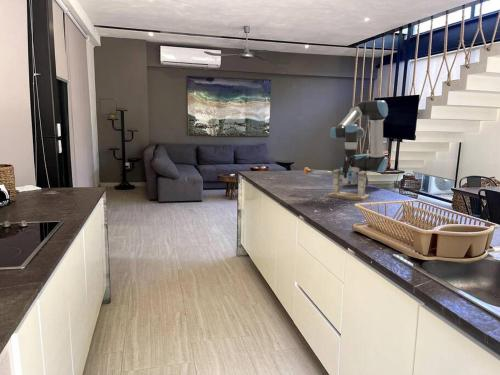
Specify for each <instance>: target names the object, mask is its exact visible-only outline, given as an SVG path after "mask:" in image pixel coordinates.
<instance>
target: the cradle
mask: <svg viewBox="0 0 500 375" xmlns="http://www.w3.org/2000/svg"><path fill="white" fill-rule="evenodd" d="M333 171H334V172H333V175H332V181H333V182H332V192H329V193H327V195H326V196H327V198H336V199H344V200H350V201H351V200H352V201H361V202H364V201H366V200H367V199H369V198H371V196H370V195H371V194H366V185H365V184H366V171H360V172H359V176H358V185H357V193H354V192H347V191H346V192H345V191H341V183H340V169H339V168H338V169H337V168H336V169H333Z"/></svg>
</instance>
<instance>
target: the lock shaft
mask: <svg viewBox="0 0 500 375" xmlns="http://www.w3.org/2000/svg"><path fill="white" fill-rule="evenodd" d="M302 172H303V175H309V174H320V175H327V176H328V175H330V176H333V172H334V170H332V171H331V170H324V169H323V170H320V169H310V168H309V166H308V167H307V166H304V168H303V170H302Z"/></svg>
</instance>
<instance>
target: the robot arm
mask: <svg viewBox="0 0 500 375" xmlns="http://www.w3.org/2000/svg"><path fill="white" fill-rule="evenodd" d="M348 112H349V113H347V115H346V116H345V117H344V118H343V119H342V120H341V121H340V123H339V124H338V125H337V126H334V127H333V126H332V127H331V128H330V130H329V136H330V137H331V138H333V139H344V143H343V145H344V155H345V156H346V157H344V162H343V171H342V173H344V179H343V183H348V170H349V167H357V168H359V172H360V171H366V184H365V186H366V185H367V186H368V185H369V179H368V174H367V173H368V172H372V173H384V172H385V171H386V169H387V167H388V163H389V159H388V157H387V156H386V154H385V152H384V121H385V119H386V117H387V116H388V115H389V113H388V112H389V107H388V104H387V102H386V101H385V100H380V99H379V100H375V99H374V100H363V101H360V102H358V103H356V104H355V105H353V106H352V107H351V108H350V109H349V111H348ZM364 117H367V118H368V121H369V122H370V153H369V154H367V153H366V154H365V153H363V154H357V153H358V152H357V149H358V148H357V147H358V140H360V139H362V138H364V136H365V135H366V133H365V129H364V128H362V127H359V126H358V124H355V123H356V122H357V120H359V119H361V118H364ZM352 185H354V186H358V184H352Z"/></svg>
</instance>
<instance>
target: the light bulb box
mask: <svg viewBox="0 0 500 375" xmlns="http://www.w3.org/2000/svg"><path fill="white" fill-rule="evenodd" d="M339 168H340V185H346V186H348V185H353V184H358V176H359V168H357V167H351V166H349V170H348V183H343V179H344V173H342V171H343V167H342V166H341V167H339Z"/></svg>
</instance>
